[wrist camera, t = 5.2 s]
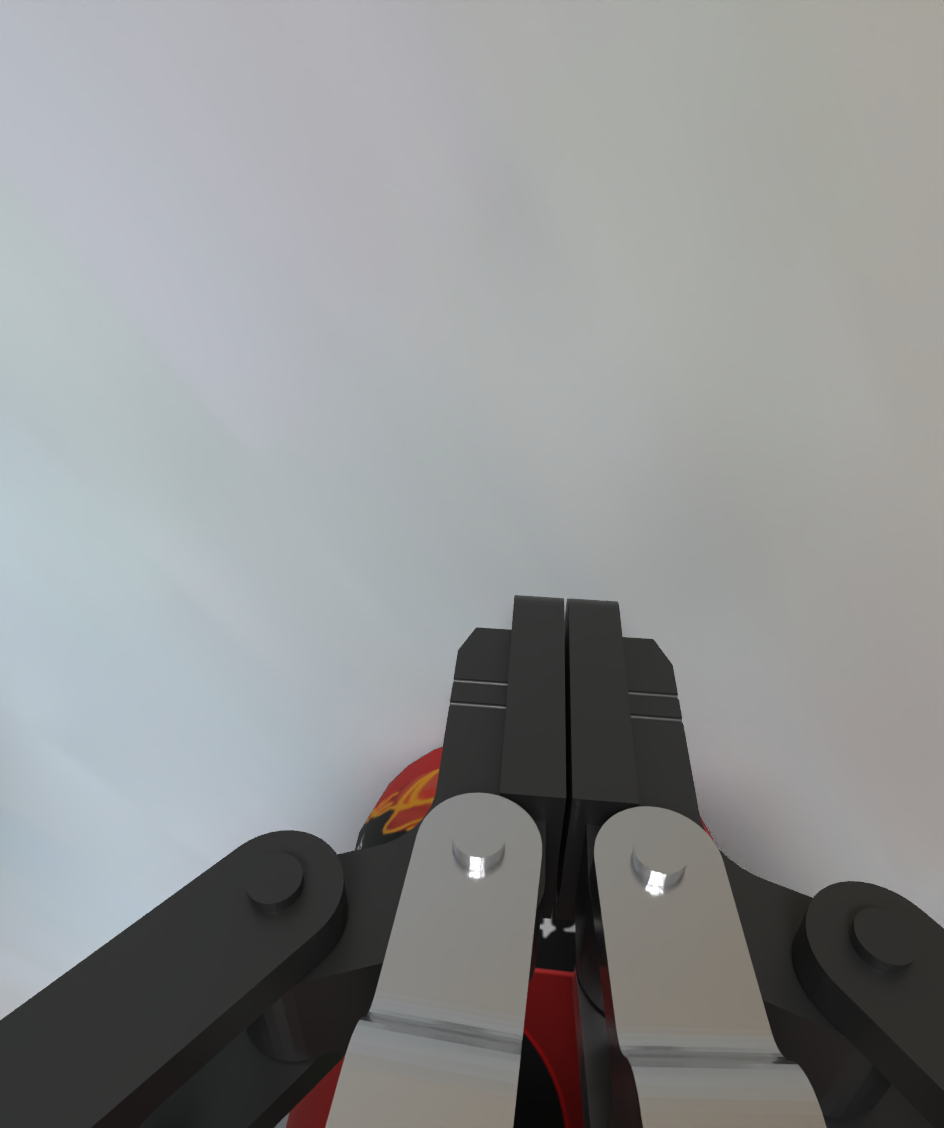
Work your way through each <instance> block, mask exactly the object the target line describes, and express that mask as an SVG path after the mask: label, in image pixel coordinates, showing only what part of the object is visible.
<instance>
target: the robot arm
mask: <svg viewBox="0 0 944 1128" xmlns="http://www.w3.org/2000/svg"><path fill="white" fill-rule="evenodd" d="M677 695H678V693H677V687H676V682H675V676H674V670H673V665H672V664H671V662H670V661H669V660H668V658H667V657H666V656H665V654H664V653H663V652H662V650H661V649H660V648H659V646H658V645H657V644H656V642H655V641H654V640H653V639H642V638H627V637H622V630H621V620H620V611H619V604H618V602H615V601H599V600H583V599H567V604H566V612H565V621H564V599H563V598H549V597H534V596H518V595H515V596H514V609H513V622H512V630H505V629H490V628H476V629H475V630H474V631H473V632H472V634H471V635H470V636H469V637H468V639H467V640H466V641H465V642H464V644H463V645H462V646H461V647H460V649H459V650H458V655H457V661H456V667H455V674H454V683H453V686H452V693H451V699H450V706H449V712H448V718H447V724H446V731H445V737H444V743H443V750H442V756H441V762H440V769H439V775H438V781H437V788H436V793H435V797H434V800H433V802H432V805H431V807H430V809H429V810H428V812H427V813H426V815H425V816H424V818H423V819H422V820H421V821H420V822H419V823H418V824H417V825H416V826H415V827H414V828H412V829H411V830H410V831H409V832H407V833H406V834H404V835H402V836H401V837H399V838H397V839H395V840H393V841H390V842H388V843H385V844H381V845H378V846H374V847H370V848H365V849H360V850H356V851H351V852H347V853H342V854H336V852H335V851H334V850H333V849H332V848H331V847H330V845H328V844H327V843H326V842H324V841H323V840H322V839H320V838H318V837H316V836H314V835H312V834H309V833H305V832H301V831H293V830H289V831H276V832H270V833H267V834H264V835H261V836H258V837H256V838H254V839H252V840H249V841H248V842H246V843H244V844H243V845H241V846H240V847H238V848H237V849H235V850H234V851H233V852H231V853H230V854H229V855H227V856H226V857H224V858H223V859H222V860H220V861H219V862H218V863H216V864H215V865H213V866H212V867H211V868H209V869H208V870H207V871H205V872H204V873H202V874H201V875H200V876H198V877H197V878H196V879H194V880H193V881H191V882H190V883H189V884H187V885H186V886H185V887H183V888H182V889H180V890H179V891H178V892H176V893H175V894H174V895H172V896H171V897H169V898H168V899H167V900H165V901H164V902H163V903H161V904H160V905H158V906H157V907H156V908H154V909H153V910H152V911H150V912H149V913H147V914H146V915H145V916H143V917H142V918H141V919H139V920H138V921H136V922H135V923H134V924H132V925H131V926H130V927H128V928H127V929H125V930H124V931H123V932H121V933H120V934H119V935H117V936H116V937H114V938H113V939H112V940H110V941H109V942H108V943H106V944H105V945H103V946H102V947H101V948H99V949H98V950H97V951H95V952H94V953H92V954H91V955H90V956H88V957H87V958H86V959H84V960H83V961H81V962H80V963H79V964H77V965H76V966H75V967H73V968H72V969H70V970H69V971H68V972H66V973H65V974H64V975H62V976H61V977H59V978H58V979H57V980H55V981H54V982H53V983H51V984H50V985H48V986H47V987H46V988H44V989H43V990H42V991H40V992H39V993H37V994H36V995H35V996H33V997H32V998H31V999H29V1000H28V1001H26V1002H25V1003H24V1004H22V1005H21V1006H20V1007H18V1008H17V1009H15V1010H14V1011H13V1012H11V1013H10V1014H9V1015H7V1016H6V1017H4V1018H3V1019H2V1020H0V1128H274V1127H275V1126H276V1125H277V1124H278V1123H279V1122H280V1121H281V1120H282V1119H283V1118H284V1117H285V1116H286V1115H287V1114H288V1113H289V1112H290V1111H291V1110H292V1109H293V1108H294V1107H295V1106H296V1105H297V1104H298V1103H299V1102H300V1101H301V1100H302V1099H303V1098H304V1097H305V1096H306V1095H307V1094H308V1093H309V1092H310V1091H311V1090H312V1089H313V1088H314V1087H315V1086H316V1085H317V1084H318V1083H319V1082H320V1081H321V1080H322V1079H323V1078H324V1077H325V1076H326V1075H327V1074H328V1073H329V1072H330V1071H331V1070H332V1069H333V1068H334V1067H335V1066H336V1065H337V1064H338V1063H339V1062H340V1061H341V1060H342V1058H343V1057H344V1056H345V1058H344V1062H343V1065H342V1069H341V1072H340V1076H339V1080H338V1083H337V1087H336V1091H335V1094H334V1098H333V1101H332V1105H331V1109H330V1112H329V1116H328V1120H327V1123H326V1127H325V1128H513V1124H514V1115H515V1105H516V1096H517V1086H518V1077H519V1067H520V1058H521V1048H522V1039H523V1029H524V1020H525V1010H526V1001H527V991H528V985H529V983H530V981H531V979H532V977H533V974H534V970H535V967H536V958H537V949H538V940H539V931H540V923H541V918H547V919H551V915H552V907H553V899H554V892H555V884H556V919H562V920H573V921H575V940H576V959H575V965H574V971H573V977H572V993H573V1004H574V1015H575V1027H576V1038H577V1049H578V1060H579V1072H580V1083H581V1094H582V1105H583V1117H584V1128H944V929H943V928H942V927H941V926H940V925H939V924H938V923H936V922H935V921H934V920H933V919H932V918H930V917H929V916H928V915H927V914H926V913H924V912H923V911H922V910H921V909H920V908H918V907H917V906H916V905H914V904H913V903H912V902H910V901H909V900H907V899H905V898H904V897H902V896H900V895H899V894H897V893H895V892H893V891H890V890H888V889H886V888H883V887H880V886H877V885H874V884H870V883H864V882H854V881H847V882H839V883H835V884H832V885H829V886H827V887H826V888H824V889H822V890H821V891H819V892H818V893H817V894H816V895H815V896H814V898H812V897H809V896H806V895H804V894H801V893H798V892H796V891H793V890H791V889H788V888H785V887H783V886H780V885H777V884H775V883H772V882H769V881H767V880H764V879H762V878H760V877H757V876H755V875H753V874H751V873H749V872H748V871H746V870H744V869H742V868H741V867H739V866H738V865H736V864H735V863H734V862H732V861H731V860H730V859H729V858H728V857H726V856H725V855H724V854H723V853H722V852H721V851H720V850H719V849H718V847H717V846H716V844H715V843H714V841H713V840H712V839H711V837H710V836H709V835H708V834H707V832H706V830H705V828H704V826H703V824H702V822H701V818H700V814H699V810H698V804H697V799H696V793H695V788H694V782H693V777H692V771H691V765H690V760H689V754H688V749H687V743H686V737H685V732H684V726H683V723H682V715H681V710H680V704H679V699H677Z"/></svg>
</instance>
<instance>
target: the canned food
mask: <svg viewBox="0 0 944 1128" xmlns="http://www.w3.org/2000/svg"><path fill="white" fill-rule="evenodd" d="M442 750H443V747H441V748H438V749H436V750H433V751H431V752H430V753H428V754H427V755H425V756H423V757H422V758H420V759H418V760H417V761H415V762H413V763H412V764H410V765H408V766H407V767H406V768H405V769H404V770H403V771H402V772H401V773H400V774H399V775H398V776H397V777H396V778H395V779H394V780H393V781H392V782H391V783H390V784H389V785H388V787H387V789H386V790H385V792H384V793H383V795H382V797H381V798H380V800H379V801H378V803H377V804H376V806H375V808H374V809H373V811H372V812H371V814H370V816H369V817H368V819H367V821H366V822H365V824H364V826H363V827H362V829H361V831H360V832H359V836H358V840H357V844H356V848H355V851H356V850H360V849H365V848H370V847H374V846H378V845H381V844H385V843H388V842H390V841H393V840H395V839H397V838H399V837H401V836H402V835H404V834H406V833H407V832H409V831H410V830H411V829H412V828H414V827H415V826H416V825H417V824H418V823H419V822H420V821H421V820H422V819H423V818H424V816H425V815H426V813H427V812H428V810H429V809H430V807H431V805H432V802H433V800H434V797H435V793H436V788H437V781H438V775H439V769H440V762H441V756H442ZM700 818H701V817H700ZM701 822H702V824H703V826H704V828H705V830H706V832H707V834H708V835H709V836H710V837H711V835H710V833H709V831H708V829H707V828H706V826H705V824H704V822H703V821H702V819H701ZM711 839H712V840H713V838H712V837H711ZM713 841H714V840H713ZM714 843H715V842H714ZM716 846H717V845H716ZM575 959H576V940H575V921H573V920H562V919H556V884H555V892H554V899H553V907H552V915H551V919H547V918H541V923H540V931H539V940H538V949H537V958H536V967H535V970H534V974H533V977H532V979H531V981H530V983H529V985H528V991H527V1001H526V1010H525V1020H524V1029H523V1039H522V1048H521V1058H520V1067H519V1077H518V1086H517V1096H516V1105H515V1115H514V1124H513V1128H584V1117H583V1105H582V1094H581V1083H580V1072H579V1060H578V1049H577V1038H576V1027H575V1015H574V1004H573V993H572V977H573V971H574V965H575ZM344 1058H345V1056H344V1057H343V1058H342V1060H341V1061H340V1062H339V1063H338V1064H337V1065H336V1066H335V1067H334V1068H333V1069H332V1070H331V1071H330V1072H329V1073H328V1074H327V1075H326V1076H325V1077H324V1078H323V1079H322V1080H321V1081H320V1082H319V1083H318V1084H317V1085H316V1086H315V1087H314V1088H313V1089H312V1090H311V1091H310V1092H309V1093H308V1094H307V1095H306V1096H305V1097H304V1098H303V1099H302V1100H301V1101H300V1102H299V1103H298V1104H297V1105H296V1106H295V1107H294V1108H293V1109H292V1110H291V1111H290V1113H289V1117H288V1121H287V1125H286V1128H325V1127H326V1123H327V1120H328V1116H329V1112H330V1109H331V1105H332V1101H333V1098H334V1094H335V1091H336V1087H337V1083H338V1080H339V1076H340V1072H341V1069H342V1065H343V1062H344Z"/></svg>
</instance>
